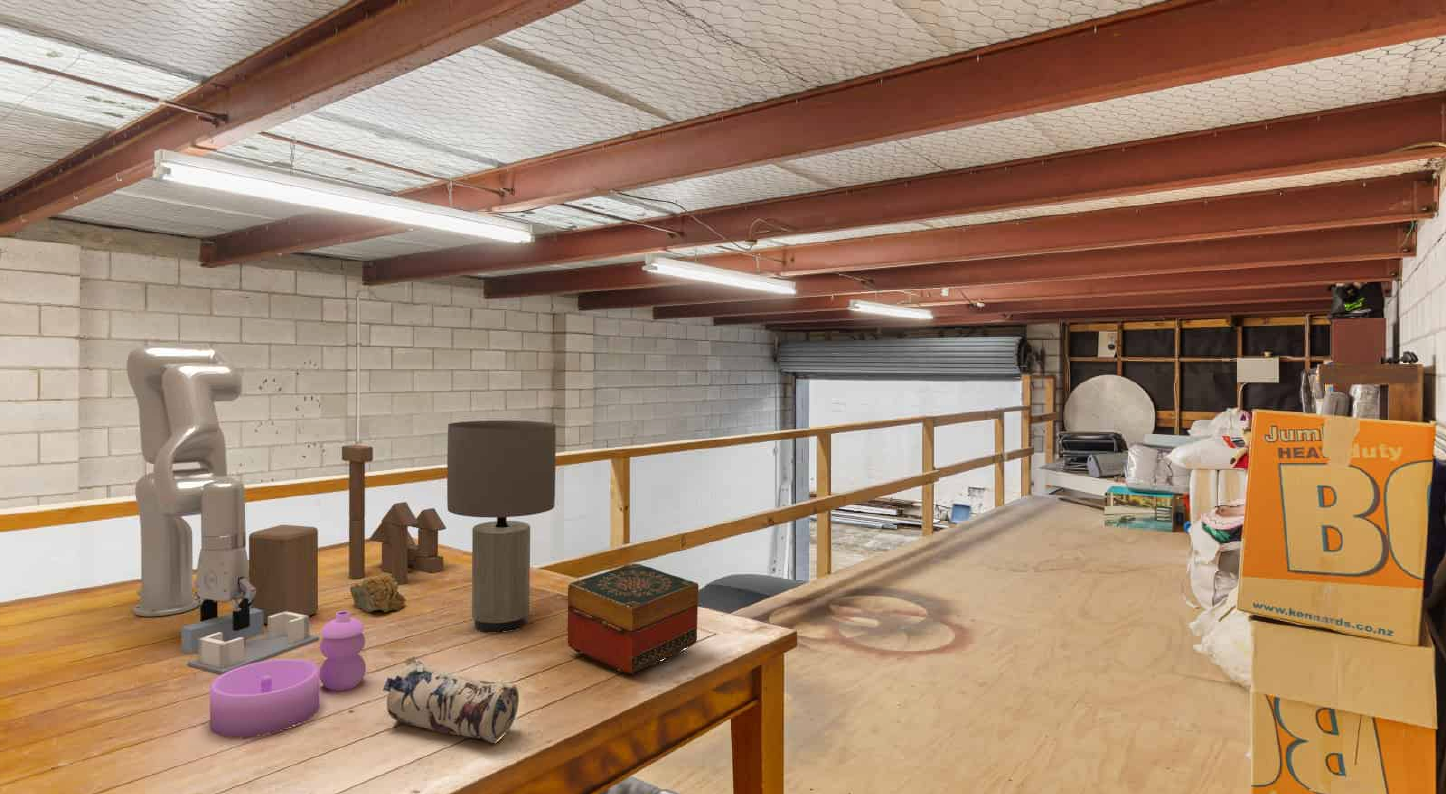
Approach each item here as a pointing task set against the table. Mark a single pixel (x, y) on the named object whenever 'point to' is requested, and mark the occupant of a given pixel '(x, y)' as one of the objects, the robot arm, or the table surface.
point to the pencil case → (451, 702)
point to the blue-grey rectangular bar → (220, 630)
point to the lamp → (500, 509)
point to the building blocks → (389, 528)
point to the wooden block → (284, 570)
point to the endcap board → (253, 644)
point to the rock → (377, 594)
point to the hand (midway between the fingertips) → (225, 625)
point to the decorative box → (632, 616)
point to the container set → (286, 684)
